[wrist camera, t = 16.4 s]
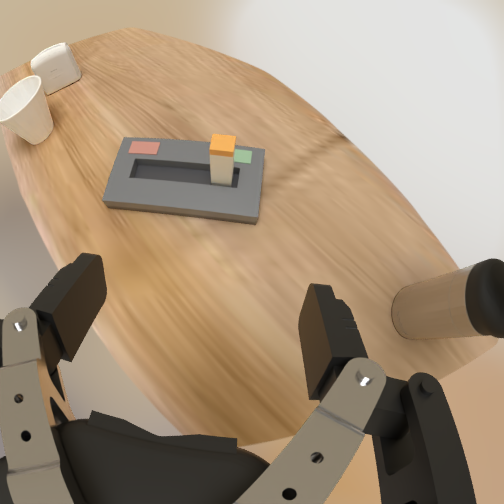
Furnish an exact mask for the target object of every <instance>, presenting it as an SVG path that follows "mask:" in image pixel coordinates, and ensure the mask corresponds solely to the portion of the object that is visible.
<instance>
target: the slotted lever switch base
mask: <svg viewBox="0 0 504 504" xmlns="http://www.w3.org/2000/svg"><path fill="white" fill-rule="evenodd" d="M210 144H211V142H200V141H188V140H174V139H156V138H127V137H124V138H123V141H122V144H121V146H120V149H119V151H118V154H117V157H116V160H115V162H114V165H113V168H112V171H111V174H110V177H109V180H108V183H107V186H106V189H105V193H104V196H103V199H102V201H103V202H104V203H105V204H106V206H107V207H108V208H114V209H124V210H134V211H144V212H153V213H162V214H172V215H180V216H189V217H198V218H206V219H214V220H222V221H230V222H238V223H246V224H254V225H256V222H257V219H258V212H259V203H260V193H261V184H262V174H263V164H264V155H265V149H260V148H253V147H245V146H238V145H235V156H234V168H233V178H232V185H231V187H223V186H215V185H211V172H210V154H209V148H210Z"/></svg>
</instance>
